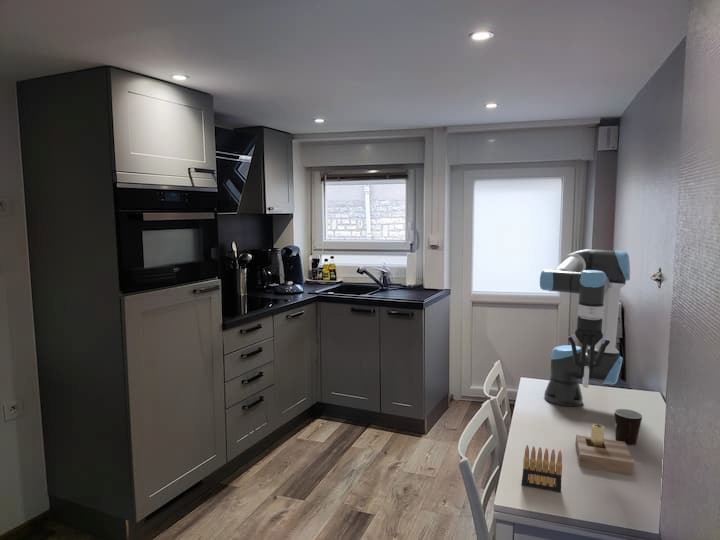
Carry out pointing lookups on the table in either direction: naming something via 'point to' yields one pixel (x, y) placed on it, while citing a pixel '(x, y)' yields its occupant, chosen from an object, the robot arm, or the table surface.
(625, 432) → the coffee mug
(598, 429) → the tan cylinder
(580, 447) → the block
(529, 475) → the ammunition clip
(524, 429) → the table surface
